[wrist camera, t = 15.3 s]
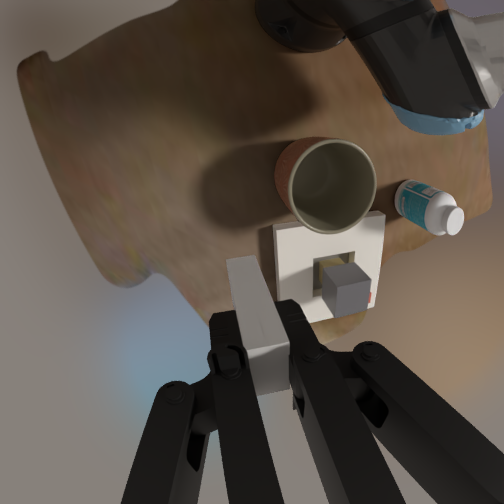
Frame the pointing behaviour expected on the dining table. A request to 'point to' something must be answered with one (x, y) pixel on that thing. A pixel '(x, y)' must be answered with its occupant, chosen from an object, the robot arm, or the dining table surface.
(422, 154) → the dining table surface
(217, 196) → the dining table surface
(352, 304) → the plug
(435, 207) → the pill bottle
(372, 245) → the socket plate
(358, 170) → the planter
